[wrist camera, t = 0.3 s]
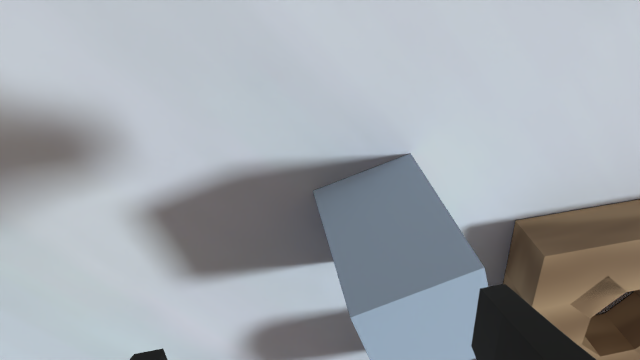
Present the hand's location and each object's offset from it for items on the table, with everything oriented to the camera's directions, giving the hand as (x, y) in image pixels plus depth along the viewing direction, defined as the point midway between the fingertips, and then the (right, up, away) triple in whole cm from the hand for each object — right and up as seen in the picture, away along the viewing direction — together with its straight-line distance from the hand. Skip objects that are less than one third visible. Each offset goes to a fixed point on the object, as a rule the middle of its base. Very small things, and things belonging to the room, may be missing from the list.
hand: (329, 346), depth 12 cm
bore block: (+15, -2, +17) cm, 23 cm away
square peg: (+2, +2, +11) cm, 12 cm away
